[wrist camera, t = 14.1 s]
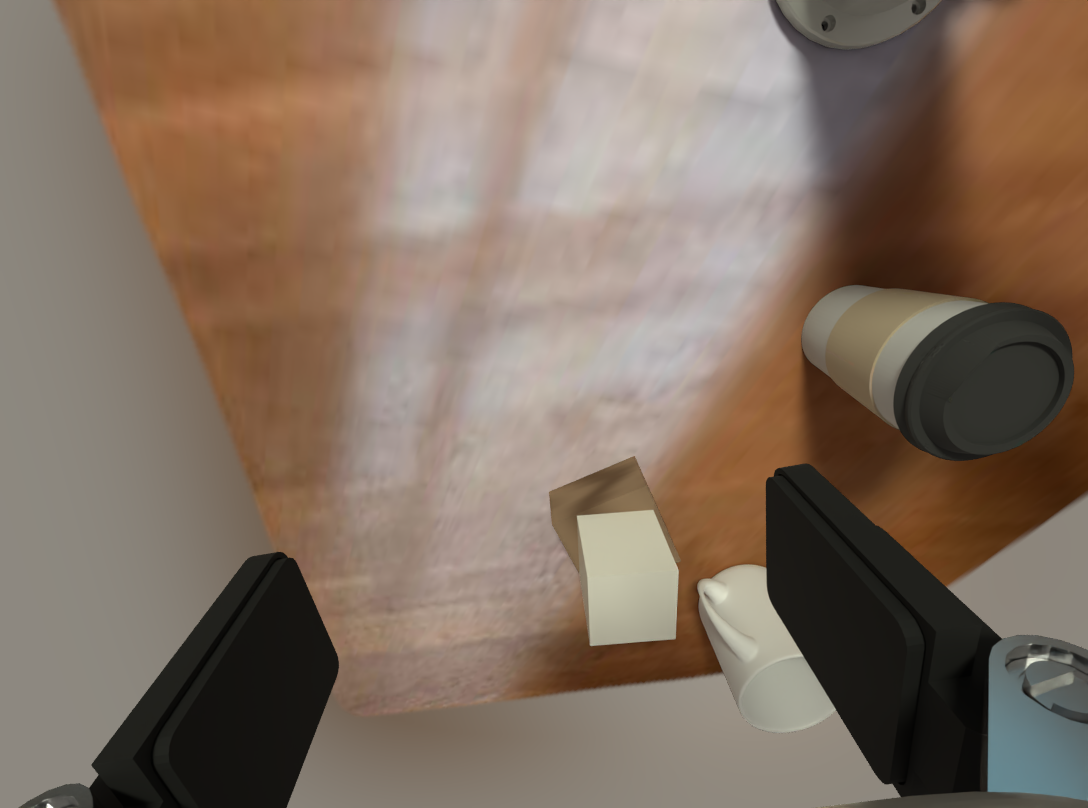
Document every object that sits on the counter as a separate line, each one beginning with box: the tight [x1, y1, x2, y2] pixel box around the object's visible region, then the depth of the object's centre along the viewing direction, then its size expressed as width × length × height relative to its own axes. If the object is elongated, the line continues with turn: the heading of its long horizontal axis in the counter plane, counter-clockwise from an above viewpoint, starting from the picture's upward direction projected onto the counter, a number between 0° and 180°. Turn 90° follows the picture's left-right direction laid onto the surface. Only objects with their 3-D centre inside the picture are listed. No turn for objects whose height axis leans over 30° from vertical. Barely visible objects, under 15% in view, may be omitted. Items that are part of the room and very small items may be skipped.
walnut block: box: [549, 456, 681, 572], centre depth 44 cm, size 8×8×5 cm
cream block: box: [577, 510, 679, 646], centre depth 38 cm, size 6×6×7 cm
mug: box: [697, 564, 836, 733], centre depth 45 cm, size 9×12×11 cm
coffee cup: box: [801, 285, 1074, 461], centre depth 33 cm, size 9×9×15 cm
